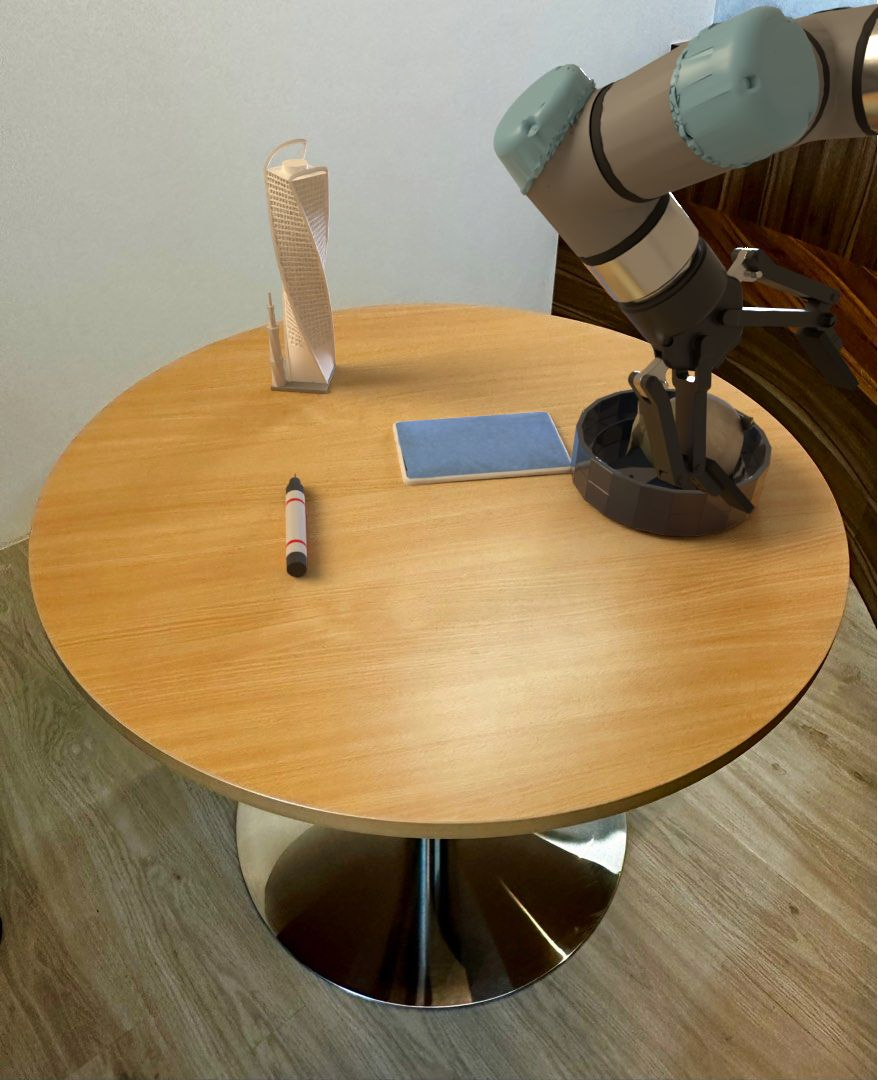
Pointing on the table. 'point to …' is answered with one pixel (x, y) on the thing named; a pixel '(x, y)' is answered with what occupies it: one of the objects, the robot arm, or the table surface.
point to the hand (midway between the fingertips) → (793, 445)
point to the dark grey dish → (654, 474)
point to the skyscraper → (300, 274)
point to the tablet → (479, 448)
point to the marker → (295, 529)
